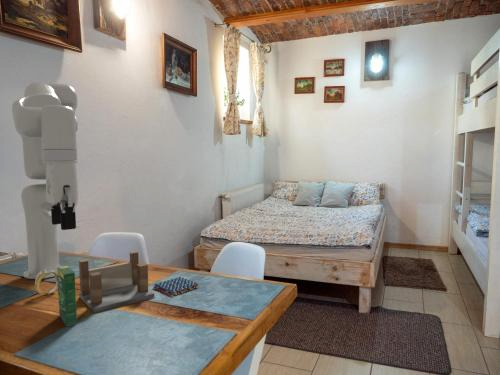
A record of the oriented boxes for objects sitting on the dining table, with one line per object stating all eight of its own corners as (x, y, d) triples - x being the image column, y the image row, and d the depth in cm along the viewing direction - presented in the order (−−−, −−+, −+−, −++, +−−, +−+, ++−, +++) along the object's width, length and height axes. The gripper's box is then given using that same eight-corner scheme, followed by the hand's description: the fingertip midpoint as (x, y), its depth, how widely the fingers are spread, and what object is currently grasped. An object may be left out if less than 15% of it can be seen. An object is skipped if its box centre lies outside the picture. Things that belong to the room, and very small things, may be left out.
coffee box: (58, 315, 99) (55, 266, 97) (70, 313, 100) (68, 264, 99) (64, 327, 92) (62, 274, 91) (77, 323, 94) (75, 272, 93)
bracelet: (38, 298, 110) (37, 271, 110) (33, 296, 112) (32, 269, 112) (62, 291, 116) (61, 266, 115) (57, 289, 118) (56, 264, 117)
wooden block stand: (79, 297, 111) (77, 260, 110) (135, 284, 122) (134, 250, 121) (94, 312, 100) (92, 271, 99) (154, 297, 111) (153, 260, 110)
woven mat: (151, 290, 118) (151, 283, 118) (179, 281, 126) (179, 275, 126) (171, 298, 111) (171, 292, 111) (199, 289, 119) (199, 282, 119)
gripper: (36, 157, 97) (39, 223, 98) (50, 157, 83) (54, 233, 85) (67, 157, 101) (70, 220, 103) (86, 156, 88) (89, 229, 89)
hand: (63, 226), depth 94 cm, fingers open, 9 cm apart
